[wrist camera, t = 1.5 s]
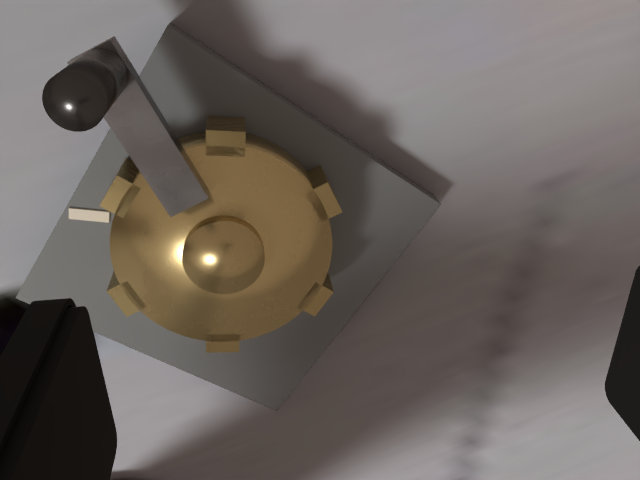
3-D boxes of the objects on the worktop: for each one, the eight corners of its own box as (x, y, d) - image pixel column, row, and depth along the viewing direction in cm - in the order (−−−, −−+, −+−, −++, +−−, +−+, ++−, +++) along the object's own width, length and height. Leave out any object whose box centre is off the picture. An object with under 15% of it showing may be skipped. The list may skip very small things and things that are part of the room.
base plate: (275, 398, 39) (276, 411, 38) (22, 286, 34) (15, 299, 32) (434, 196, 34) (441, 205, 33) (170, 22, 28) (167, 26, 27)
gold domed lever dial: (369, 262, 34) (409, 354, 27) (180, 352, 35) (166, 465, 28) (225, -26, 27) (222, -14, 19) (-10, 100, 28) (-104, 159, 20)
